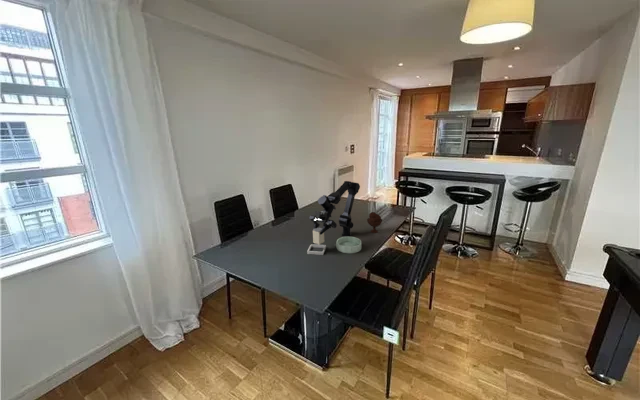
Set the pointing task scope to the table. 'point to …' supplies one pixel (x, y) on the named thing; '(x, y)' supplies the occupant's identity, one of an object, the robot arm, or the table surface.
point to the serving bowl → (348, 244)
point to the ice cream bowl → (374, 221)
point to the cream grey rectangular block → (318, 236)
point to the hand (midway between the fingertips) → (317, 233)
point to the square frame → (316, 251)
